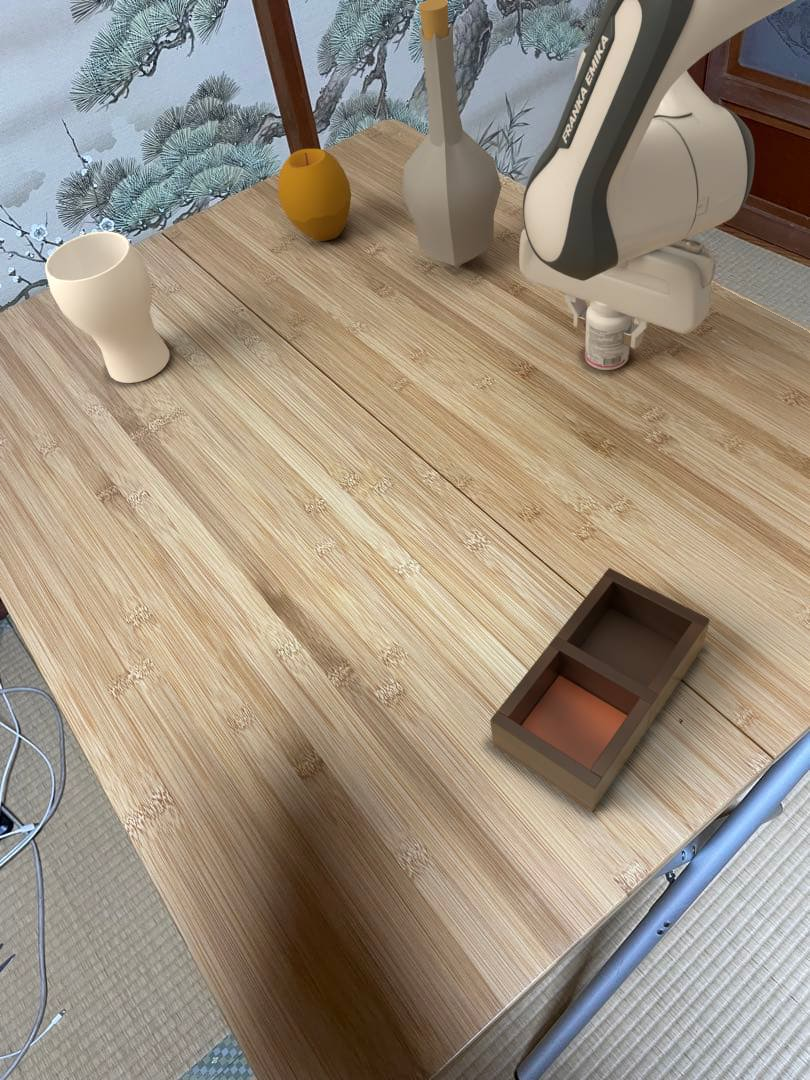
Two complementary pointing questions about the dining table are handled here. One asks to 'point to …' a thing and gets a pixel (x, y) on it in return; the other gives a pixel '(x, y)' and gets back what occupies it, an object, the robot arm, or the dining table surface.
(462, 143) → the bottle
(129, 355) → the cup
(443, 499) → the dining table surface
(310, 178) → the orange candle
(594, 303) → the pill bottle
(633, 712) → the holder
